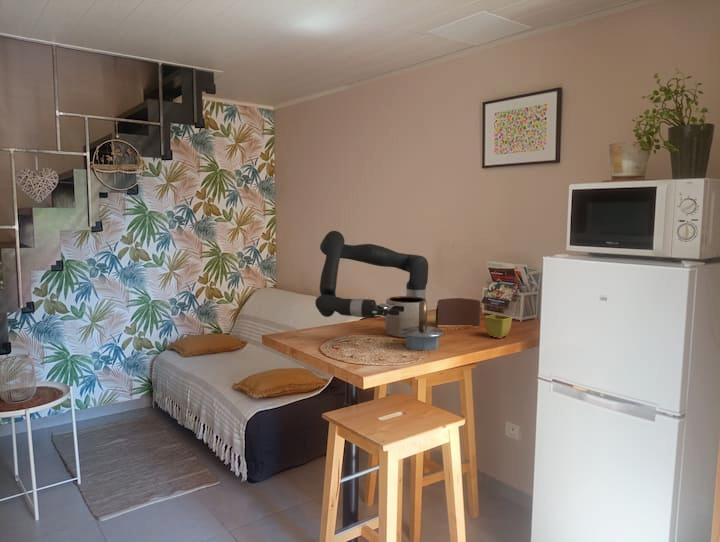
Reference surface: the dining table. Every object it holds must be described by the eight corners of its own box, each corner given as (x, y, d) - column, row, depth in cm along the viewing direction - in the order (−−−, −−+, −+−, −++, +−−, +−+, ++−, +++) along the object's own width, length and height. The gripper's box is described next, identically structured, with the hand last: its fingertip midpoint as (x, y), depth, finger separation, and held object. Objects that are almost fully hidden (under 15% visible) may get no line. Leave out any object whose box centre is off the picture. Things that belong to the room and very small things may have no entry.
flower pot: (512, 337, 237) (513, 316, 236) (502, 340, 230) (503, 319, 229) (493, 334, 243) (494, 314, 242) (483, 337, 236) (484, 316, 235)
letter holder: (479, 328, 254) (480, 298, 252) (436, 327, 255) (437, 298, 254) (476, 324, 264) (477, 295, 262) (435, 323, 265) (436, 294, 264)
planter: (402, 340, 228) (402, 303, 226) (377, 332, 243) (378, 297, 241) (434, 335, 238) (435, 300, 236) (408, 328, 253) (409, 294, 251)
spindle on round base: (431, 327, 229) (432, 297, 228) (451, 336, 213) (452, 303, 212) (394, 330, 223) (394, 299, 222) (412, 339, 207) (413, 306, 206)
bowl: (427, 341, 227) (428, 328, 226) (443, 348, 215) (443, 335, 215) (401, 344, 222) (401, 331, 221) (416, 351, 211) (416, 337, 210)
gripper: (357, 301, 217) (397, 304, 213) (368, 296, 231) (405, 298, 226) (357, 320, 218) (397, 323, 213) (367, 314, 232) (405, 316, 227)
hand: (401, 310), depth 220 cm, fingers open, 8 cm apart
